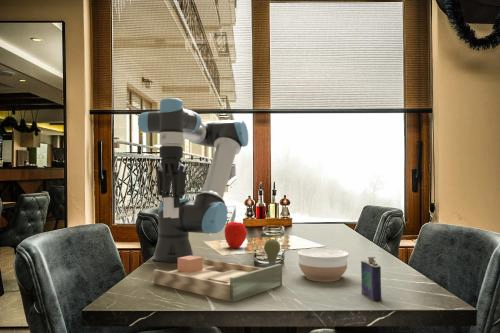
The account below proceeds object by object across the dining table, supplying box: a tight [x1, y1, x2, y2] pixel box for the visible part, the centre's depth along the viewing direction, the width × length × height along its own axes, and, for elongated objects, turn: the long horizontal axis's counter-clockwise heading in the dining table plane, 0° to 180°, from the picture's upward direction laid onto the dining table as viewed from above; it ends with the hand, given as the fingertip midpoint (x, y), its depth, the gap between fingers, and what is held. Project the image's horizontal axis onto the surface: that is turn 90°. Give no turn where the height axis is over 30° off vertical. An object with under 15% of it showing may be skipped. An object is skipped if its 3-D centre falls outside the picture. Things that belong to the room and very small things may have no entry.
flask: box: [360, 256, 383, 303], centre depth 114 cm, size 9×3×11 cm, turn 8°
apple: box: [224, 221, 248, 249], centre depth 193 cm, size 10×10×12 cm
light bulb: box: [263, 238, 281, 267], centre depth 151 cm, size 6×6×10 cm
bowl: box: [297, 247, 350, 283], centre depth 136 cm, size 16×16×8 cm
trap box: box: [153, 258, 283, 303], centre depth 127 cm, size 31×22×6 cm
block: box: [177, 255, 204, 273], centre depth 135 cm, size 6×6×4 cm
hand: (170, 217), depth 141 cm, fingers open, 3 cm apart
